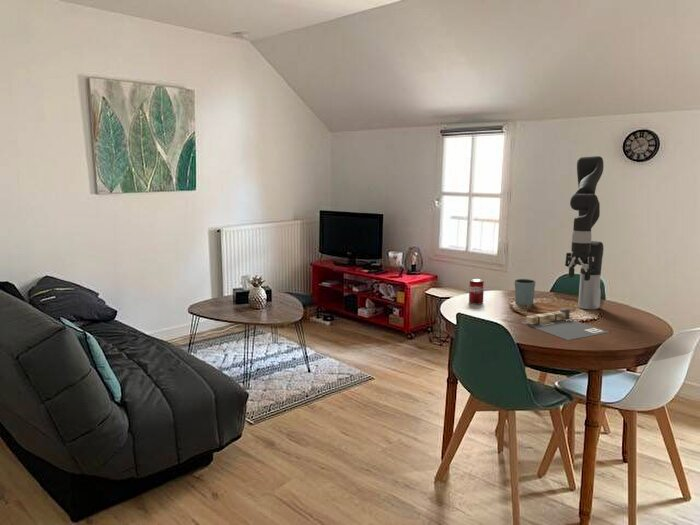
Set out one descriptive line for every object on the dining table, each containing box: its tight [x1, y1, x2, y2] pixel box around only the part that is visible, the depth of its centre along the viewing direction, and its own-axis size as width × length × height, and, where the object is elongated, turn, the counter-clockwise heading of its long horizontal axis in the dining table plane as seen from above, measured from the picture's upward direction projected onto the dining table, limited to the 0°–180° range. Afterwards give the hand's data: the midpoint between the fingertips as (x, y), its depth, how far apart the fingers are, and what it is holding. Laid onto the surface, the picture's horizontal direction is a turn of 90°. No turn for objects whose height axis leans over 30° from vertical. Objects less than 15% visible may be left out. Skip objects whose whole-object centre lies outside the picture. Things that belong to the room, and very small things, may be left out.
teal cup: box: [514, 278, 536, 306], centre depth 275 cm, size 10×10×12 cm
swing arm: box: [525, 307, 571, 325], centre depth 244 cm, size 23×4×4 cm, turn 114°
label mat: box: [519, 320, 610, 341], centre depth 235 cm, size 24×28×1 cm
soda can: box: [468, 278, 485, 305], centre depth 277 cm, size 7×7×12 cm
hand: (579, 278), depth 230 cm, fingers open, 8 cm apart
